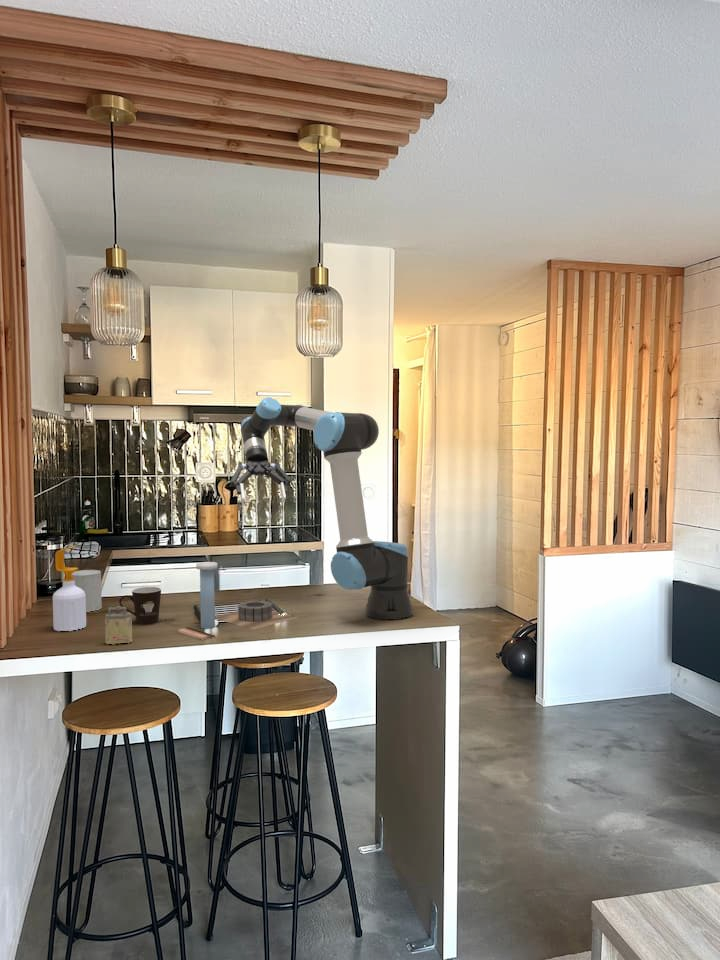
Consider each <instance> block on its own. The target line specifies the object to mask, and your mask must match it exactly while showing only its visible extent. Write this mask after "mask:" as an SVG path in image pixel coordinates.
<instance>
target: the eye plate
mask: <svg viewBox="0 0 720 960" xmlns="http://www.w3.org/2000/svg"><path fill="white" fill-rule="evenodd" d="M237 610H238V611H237ZM237 610H236V611H234V612H229V613H225V614H221V615H220V614H219V615H216V616H215V620H219V621H222V622H224V623H228V624H233V625H236V626H238V627H239V626H240V627H243V628H246V629H250V630H257V629H261V628H264V627H267V626H272V625H277V624H279V623H283V622H288V621H291V620H295V619H299V618H300V616H295V615H291V614H287V613H284V614H285V615H284V616H283V615H282V616H281V615H278V614H279V613H281V612H279V611H277V610H273V603H272V602H270V601H265V600H249V601H243V602H240V603H238V605H237Z"/></svg>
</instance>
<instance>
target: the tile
mask: <svg viewBox="0 0 720 960" xmlns="http://www.w3.org/2000/svg"><path fill="white" fill-rule="evenodd" d="M178 633H180V634H182V635H185V636H189V637H190V638H191V637H192V638H195V639H198V640H200V639H201V640H200V641H205V639H206V640H209V638H210V639H212V637H214V638H216V637H215V636H216V635H215V634H210V633H206V632H204V631H201V630H198V629H194V628H191V627H189V626H188V627H183V628H178Z"/></svg>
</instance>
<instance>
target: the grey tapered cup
mask: <svg viewBox="0 0 720 960" xmlns="http://www.w3.org/2000/svg"><path fill="white" fill-rule="evenodd" d="M72 577H73V578H75V586H77V587H79V588H81V589H82V590H83V591H84V592H85V595H86V612H90V611H95V610H99V609H101V608H102V609H103V607H102V606H103V605H102V604H103V603H102V601H103V600H102V571H101V570H98V569H82V570H75V571H73V573H72ZM102 609H101V610H102ZM99 611H100V610H99ZM95 612H96V611H95ZM90 613H91V612H90Z"/></svg>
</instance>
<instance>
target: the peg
mask: <svg viewBox="0 0 720 960" xmlns="http://www.w3.org/2000/svg"><path fill="white" fill-rule="evenodd" d="M195 565H196V566H195V568H196V570H199V593H200V594H199V595H200V597H199V598H200V603H199V604H200V605H199V606H200V628H201V629H204V630H205V629H206V630H209V629H210V630H211V629H213V628H215V627H216V619H215V615H216V613H215V610H216V608H215V607H216V606H215V601H216V600H215V569H218V567H219V566H218V565H219V564H218V562H216V561H201V562H197V563H196V564H195Z"/></svg>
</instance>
